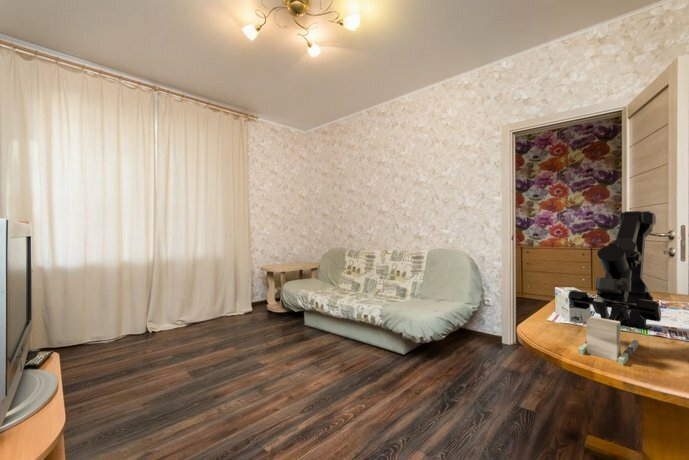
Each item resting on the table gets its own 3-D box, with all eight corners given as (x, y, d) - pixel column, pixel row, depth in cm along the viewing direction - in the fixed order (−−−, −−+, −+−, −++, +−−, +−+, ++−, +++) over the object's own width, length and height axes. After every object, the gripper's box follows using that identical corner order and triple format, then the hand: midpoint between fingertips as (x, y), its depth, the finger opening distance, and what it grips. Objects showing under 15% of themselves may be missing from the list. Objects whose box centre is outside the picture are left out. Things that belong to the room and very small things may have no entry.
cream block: (591, 349, 84) (591, 316, 83) (620, 356, 79) (620, 321, 78) (587, 353, 81) (586, 319, 81) (616, 361, 76) (616, 325, 76)
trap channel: (597, 339, 92) (597, 332, 92) (638, 348, 85) (638, 340, 85) (578, 357, 81) (578, 348, 81) (623, 369, 74) (623, 360, 74)
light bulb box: (591, 325, 103) (591, 293, 103) (569, 325, 105) (568, 293, 104) (574, 315, 114) (574, 286, 113) (554, 315, 115) (553, 286, 115)
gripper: (569, 263, 91) (556, 307, 85) (658, 269, 76) (650, 324, 70) (578, 285, 96) (567, 328, 90) (664, 295, 81) (657, 348, 75)
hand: (605, 331), depth 81 cm, fingers closed
